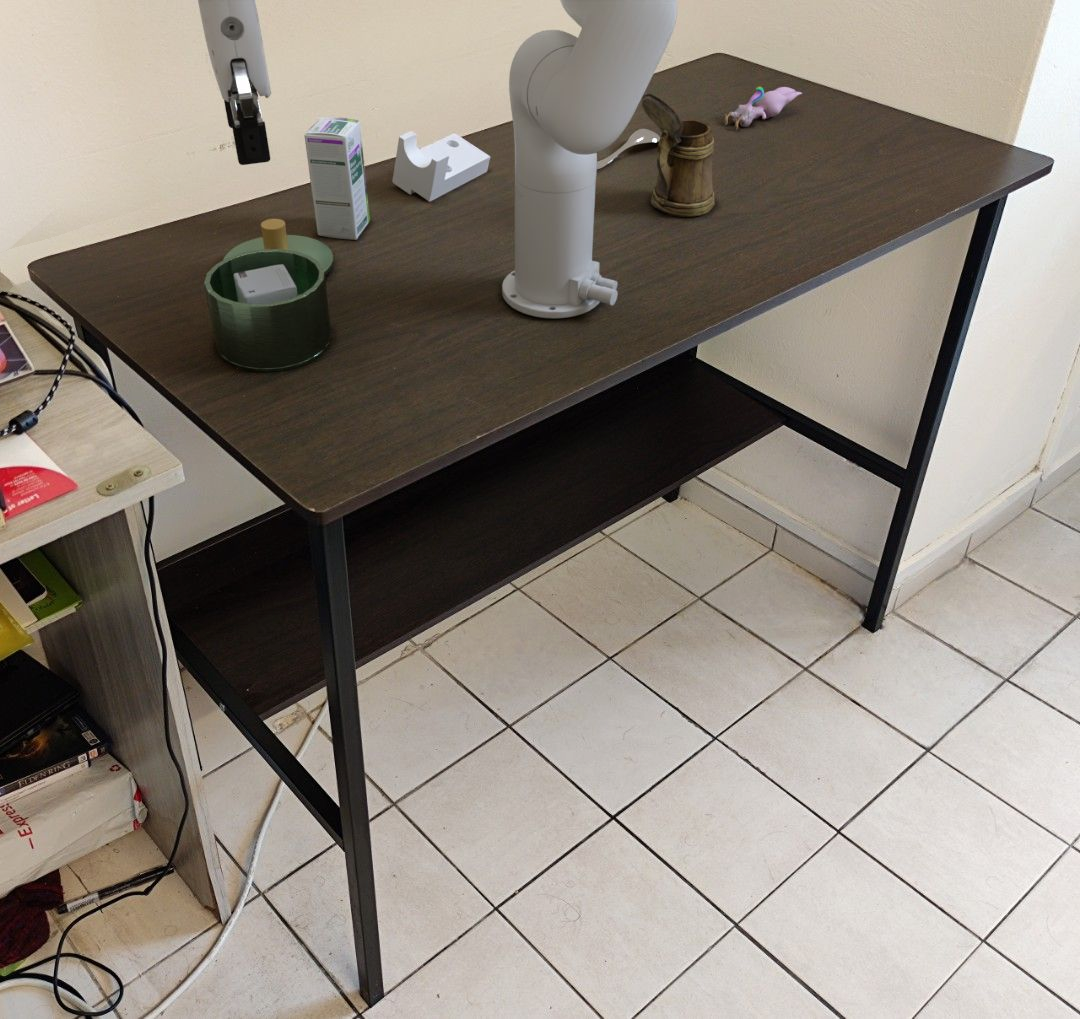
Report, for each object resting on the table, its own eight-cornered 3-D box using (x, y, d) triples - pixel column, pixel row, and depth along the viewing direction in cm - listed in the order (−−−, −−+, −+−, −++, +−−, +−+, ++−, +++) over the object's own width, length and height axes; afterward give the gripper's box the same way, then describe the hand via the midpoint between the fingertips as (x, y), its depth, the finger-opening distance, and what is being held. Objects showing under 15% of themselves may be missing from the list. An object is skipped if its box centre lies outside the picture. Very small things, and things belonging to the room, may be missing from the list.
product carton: (305, 342, 138) (297, 286, 133) (253, 353, 136) (244, 296, 131) (291, 317, 142) (283, 262, 138) (241, 328, 140) (231, 272, 136)
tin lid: (355, 260, 155) (351, 216, 151) (285, 306, 145) (279, 260, 141) (273, 233, 160) (267, 190, 156) (200, 276, 151) (191, 231, 147)
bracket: (428, 207, 169) (436, 161, 163) (392, 182, 171) (399, 136, 165) (485, 177, 177) (495, 132, 171) (450, 153, 179) (458, 108, 173)
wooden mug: (616, 212, 167) (623, 84, 155) (679, 184, 174) (691, 60, 162) (663, 234, 162) (674, 103, 150) (726, 204, 169) (742, 78, 157)
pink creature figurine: (743, 142, 190) (811, 107, 195) (743, 107, 185) (813, 72, 190) (717, 129, 193) (784, 95, 199) (716, 94, 189) (785, 61, 194)
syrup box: (357, 240, 159) (347, 136, 150) (315, 236, 160) (303, 131, 150) (370, 222, 163) (362, 118, 154) (329, 217, 164) (318, 114, 155)
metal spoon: (576, 157, 171) (554, 146, 174) (574, 180, 173) (553, 170, 176) (671, 130, 182) (649, 121, 185) (668, 153, 184) (647, 144, 187)
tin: (354, 332, 141) (347, 267, 136) (281, 384, 132) (271, 318, 127) (268, 301, 146) (259, 238, 141) (192, 350, 137) (179, 285, 132)
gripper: (271, -6, 107) (297, 172, 119) (249, -57, 120) (274, 108, 131) (186, 2, 106) (220, 182, 117) (173, -51, 118) (205, 117, 129)
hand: (249, 143), depth 124 cm, fingers open, 9 cm apart
